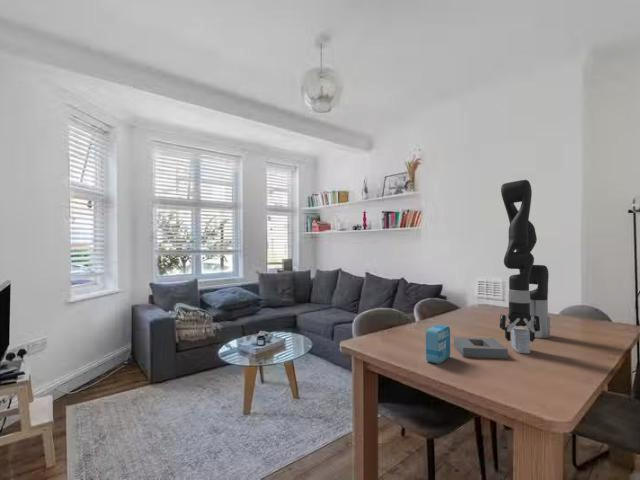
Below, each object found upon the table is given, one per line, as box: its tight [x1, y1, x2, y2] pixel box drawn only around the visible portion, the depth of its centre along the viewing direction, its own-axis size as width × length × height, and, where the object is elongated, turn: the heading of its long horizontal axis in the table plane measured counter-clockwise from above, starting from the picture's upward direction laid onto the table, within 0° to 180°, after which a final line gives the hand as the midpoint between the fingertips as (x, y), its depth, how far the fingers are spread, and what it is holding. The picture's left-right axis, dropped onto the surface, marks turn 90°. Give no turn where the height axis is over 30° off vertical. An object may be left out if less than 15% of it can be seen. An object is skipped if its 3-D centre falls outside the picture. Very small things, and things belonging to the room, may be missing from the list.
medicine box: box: [510, 326, 531, 354], centre depth 136 cm, size 8×4×9 cm, turn 168°
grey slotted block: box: [453, 336, 509, 360], centre depth 135 cm, size 16×15×4 cm
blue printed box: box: [425, 324, 451, 365], centre depth 126 cm, size 12×4×12 cm, turn 138°
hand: (519, 340), depth 136 cm, fingers open, 8 cm apart
